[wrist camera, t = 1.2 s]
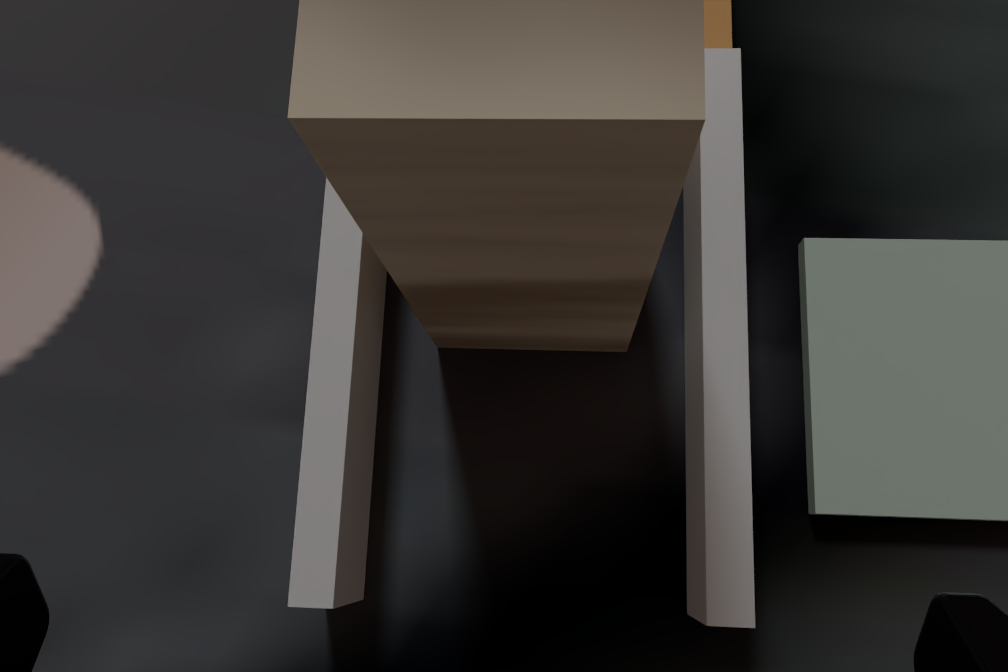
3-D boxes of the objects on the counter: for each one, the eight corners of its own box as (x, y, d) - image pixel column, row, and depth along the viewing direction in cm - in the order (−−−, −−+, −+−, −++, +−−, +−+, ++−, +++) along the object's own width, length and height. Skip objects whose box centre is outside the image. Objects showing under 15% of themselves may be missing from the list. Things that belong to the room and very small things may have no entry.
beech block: (626, 352, 23) (706, 119, 10) (437, 347, 23) (287, 118, 11) (627, 174, 24) (700, -233, 11) (447, 172, 24) (322, -225, 12)
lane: (728, 616, 21) (755, 627, 18) (324, 597, 22) (287, 606, 19) (719, 107, 24) (740, 48, 21) (364, 106, 25) (338, 48, 22)
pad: (1104, 524, 21) (1120, 524, 20) (808, 514, 22) (815, 513, 21) (1072, 249, 23) (1086, 241, 22) (797, 245, 23) (804, 238, 23)
